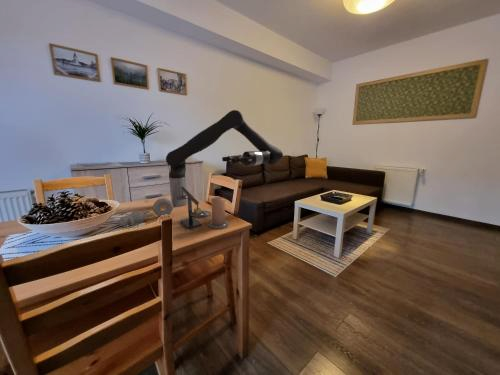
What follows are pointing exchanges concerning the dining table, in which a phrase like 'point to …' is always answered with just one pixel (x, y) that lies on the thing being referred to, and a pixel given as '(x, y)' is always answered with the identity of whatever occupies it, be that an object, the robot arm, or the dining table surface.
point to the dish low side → (218, 226)
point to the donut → (160, 202)
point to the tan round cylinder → (218, 211)
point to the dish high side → (207, 213)
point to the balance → (197, 212)
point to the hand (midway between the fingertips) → (227, 159)
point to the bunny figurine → (134, 218)
